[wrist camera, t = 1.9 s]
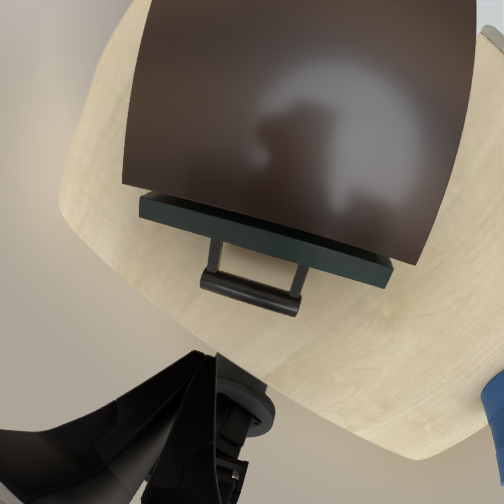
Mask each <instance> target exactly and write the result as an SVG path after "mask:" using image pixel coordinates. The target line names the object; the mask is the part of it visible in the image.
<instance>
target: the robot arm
mask: <svg viewBox="0 0 504 504" xmlns="http://www.w3.org/2000/svg"><path fill="white" fill-rule="evenodd" d="M216 387H217V358H216V357H213V356H210V355H205V354H204V353H202V352H200V351H197V350H193V351H191V352H190V353H188V354H187V355H185V356H184V357H182V358H181V359H179V360H178V361H176V362H174V363H173V364H171V365H170V366H168V367H167V368H165V369H164V370H162V371H160V372H159V373H157V374H156V375H154V376H153V377H151V378H149V379H148V380H146V381H145V382H143V383H142V384H140V385H138V386H137V387H135V388H133V389H132V390H130V391H129V392H127V393H125V394H124V395H122V396H120V397H119V398H117V399H116V400H114V401H112V402H110V403H108V404H107V405H105V406H103V407H101V408H100V409H98V410H96V411H94V412H92V413H90V414H87V415H85V416H83V417H81V418H78V419H76V420H73V421H71V422H68V423H66V424H63V425H60V426H58V427H55V428H52V429H50V430H45V431H39V432H28V431H27V432H26V431H13V430H2V429H0V504H129V503H130V501H131V500H132V498H133V496H134V495H135V494H136V492H137V490H138V489H139V487H140V486H141V484H142V483H143V481H144V480H145V481H146V482H148V483H147V485H146V487H145V490H144V492H143V495H142V497H141V504H236V503H237V501H238V498H239V495H240V493H241V489H242V486H243V482H244V478H245V475H246V471H247V467H248V464H249V462H247V461H241V460H238V456H239V453H240V450H241V447H242V446H243V445H244V442H245V439H246V436H247V433H248V430H249V428H252V427H256V426H260V425H261V420H260V419H258V418H257V417H255V416H254V415H252V414H251V413H250V412H248V411H247V410H245V409H244V408H243V407H241V406H240V405H239V404H237V403H236V402H234V401H233V400H232V399H230V398H229V397H228V396H226V395H225V394H224V393H221V392H218V393H216ZM232 476H235V478H232Z"/></svg>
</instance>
